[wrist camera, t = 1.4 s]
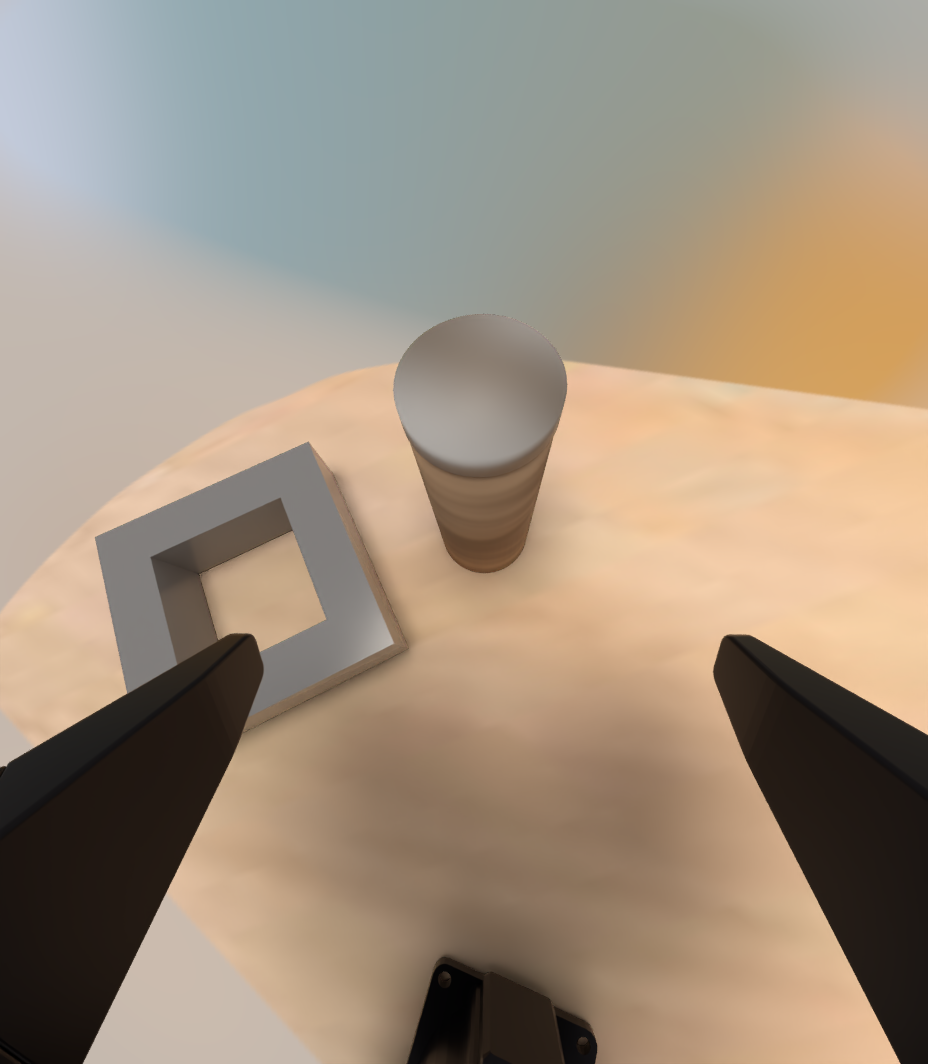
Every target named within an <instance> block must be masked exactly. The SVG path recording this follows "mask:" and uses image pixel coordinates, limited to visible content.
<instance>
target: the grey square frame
mask: <svg viewBox="0 0 928 1064" xmlns="http://www.w3.org/2000/svg"><path fill="white" fill-rule="evenodd" d="M291 530H293V532H294V535H295V537H296V540H297V543H298V545H299V548H300V550H301V553H302V556H303V558H304V561H305V564H306V566H307V569H308V572H309V574H310V577H311V579H312V582H313V585H314V587H315V590H316V593H317V595H318V598H319V601H320V603H321V606H322V609H323V611H324V614H325V616H326V619H327V620H325V621H323V622H321V623H319V624H317V625H315V626H313V627H311V628H309V629H307V630H304V631H302V632H300V633H298V634H296V635H294V636H292V637H290V638H288V639H286V640H284V641H282V642H280V643H278V644H276V645H274V646H272V647H270V648H268V649H266V650H264V651H262V652H260V655H261V658H262V661H263V665H264V674H263V678H262V681H261V684H260V686H259V689H258V692H257V694H256V697H255V700H254V702H253V705H252V708H251V710H250V713H249V716H248V719H247V721H246V724H245V727H244V729H243V732H242V733H244V732H246V731H248V730H250V729H251V728H253V727H255V726H257V725H259V724H261V723H263V722H265V721H267V720H269V719H271V718H273V717H275V716H277V715H279V714H281V713H283V712H285V711H287V710H289V709H291V708H293V707H295V706H297V705H299V704H301V703H303V702H305V701H307V700H309V699H311V698H312V697H314V696H316V695H318V694H320V693H322V692H324V691H326V690H328V689H330V688H332V687H334V686H336V685H338V684H340V683H342V682H344V681H346V680H348V679H350V678H352V677H354V676H356V675H358V674H360V673H362V672H364V671H366V670H368V669H370V668H372V667H373V666H375V665H377V664H379V663H381V662H383V661H385V660H387V659H389V658H391V657H393V656H395V655H397V654H399V653H401V652H403V651H405V650H407V649H409V648H408V646H407V643H406V641H405V639H404V636H403V634H402V632H401V629H400V627H399V625H398V623H397V620H396V618H395V616H394V613H393V611H392V609H391V606H390V604H389V602H388V599H387V597H386V595H385V593H384V590H383V588H382V586H381V583H380V581H379V579H378V576H377V574H376V572H375V570H374V567H373V565H372V563H371V560H370V558H369V556H368V553H367V551H366V549H365V547H364V544H363V542H362V540H361V537H360V535H359V533H358V530H357V528H356V526H355V523H354V521H353V519H352V517H351V514H350V512H349V510H348V507H347V505H346V503H345V500H344V498H343V496H342V494H341V491H340V489H339V487H338V484H337V482H336V480H335V477H334V475H333V473H332V472H331V470H330V469H329V468H328V466H327V465H326V464H325V463H324V461H323V460H322V459H321V457H320V456H319V455H318V453H317V452H316V451H315V450H314V448H313V447H312V446H311V444H310V443H309V442H307V443H304V444H302V445H300V446H298V447H295V448H293V449H291V450H289V451H286V452H284V453H282V454H280V455H278V456H275V457H273V458H271V459H269V460H266V461H264V462H262V463H260V464H257V465H255V466H253V467H251V468H249V469H246V470H244V471H242V472H240V473H237V474H235V475H233V476H231V477H228V478H226V479H224V480H222V481H219V482H217V483H215V484H213V485H211V486H208V487H206V488H204V489H202V490H199V491H197V492H195V493H193V494H190V495H188V496H186V497H184V498H181V499H179V500H177V501H175V502H173V503H170V504H168V505H166V506H164V507H161V508H159V509H157V510H155V511H152V512H150V513H148V514H146V515H144V516H141V517H139V518H137V519H135V520H132V521H130V522H128V523H126V524H123V525H121V526H119V527H117V528H114V529H112V530H110V531H108V532H106V533H103V534H101V535H99V536H97V537H95V540H96V545H97V550H98V555H99V559H100V564H101V569H102V574H103V579H104V583H105V588H106V593H107V598H108V603H109V608H110V612H111V617H112V622H113V627H114V632H115V636H116V641H117V646H118V651H119V656H120V661H121V665H122V670H123V675H124V680H125V685H126V690H127V694H128V693H129V692H131V691H133V690H134V689H136V688H138V687H140V686H141V685H143V684H145V683H146V682H148V681H150V680H152V679H153V678H155V677H157V676H158V675H160V674H162V673H164V672H165V671H167V670H169V669H171V668H172V667H174V666H176V665H177V664H179V663H181V662H183V661H184V660H186V659H188V658H189V657H191V656H193V655H195V654H196V653H198V652H200V651H201V650H203V649H205V648H207V647H208V646H210V645H212V644H213V643H215V642H217V641H218V640H217V637H216V633H215V630H214V626H213V623H212V619H211V616H210V612H209V609H208V605H207V602H206V598H205V595H204V591H203V588H202V584H201V581H200V577H199V573H201V572H204V571H206V570H208V569H210V568H212V567H214V566H216V565H219V564H221V563H223V562H225V561H227V560H229V559H231V558H234V557H236V556H238V555H240V554H242V553H244V552H246V551H249V550H251V549H253V548H255V547H257V546H259V545H261V544H264V543H266V542H268V541H270V540H272V539H274V538H276V537H279V536H281V535H283V534H285V533H287V532H289V531H291Z"/></svg>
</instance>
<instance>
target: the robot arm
mask: <svg viewBox="0 0 928 1064" xmlns="http://www.w3.org/2000/svg"><path fill="white" fill-rule="evenodd" d="M263 674H264V665H263V661H262V658H261V655H260V652H259V649H258V645H257V642H256V639H255V637H254V636H253V635H251V634H238V633H234V634H229V635H227V636H225V637H224V638H222V639H220V640H219V641H217V642H215V643H213V644H212V645H210V646H208V647H207V648H205V649H203V650H201V651H200V652H198V653H196V654H195V655H193V656H191V657H189V658H188V659H186V660H184V661H183V662H181V663H179V664H177V665H176V666H174V667H172V668H171V669H169V670H167V671H165V672H164V673H162V674H160V675H158V676H157V677H155V678H153V679H152V680H150V681H148V682H146V683H145V684H143V685H141V686H140V687H138V688H136V689H134V690H133V691H131V692H129V693H128V694H126V695H124V696H122V697H121V698H119V699H117V700H116V701H114V702H112V703H110V704H109V705H107V706H105V707H104V708H102V709H100V710H98V711H97V712H95V713H93V714H91V715H90V716H88V717H86V718H85V719H83V720H81V721H79V722H78V723H76V724H74V725H73V726H71V727H69V728H67V729H66V730H64V731H62V732H61V733H59V734H57V735H55V736H54V737H52V738H50V739H49V740H47V741H45V742H43V743H42V744H40V745H38V746H36V747H35V748H33V749H31V750H30V751H28V752H26V753H24V754H23V755H21V756H19V757H18V758H16V759H14V760H12V761H11V762H9V763H8V765H7V767H6V766H3V767H0V1064H83V1062H84V1060H85V1058H86V1056H87V1054H88V1052H89V1050H90V1048H91V1046H92V1044H93V1042H94V1040H95V1038H96V1035H97V1034H98V1031H99V1029H100V1027H101V1025H102V1023H103V1021H104V1019H105V1017H106V1015H107V1013H108V1011H109V1009H110V1007H111V1005H112V1003H113V1001H114V999H115V997H116V995H117V992H118V991H119V988H120V986H121V984H122V982H123V980H124V978H125V976H126V974H127V972H128V970H129V968H130V966H131V964H132V962H133V960H134V958H135V956H136V953H137V952H138V949H139V947H140V945H141V943H142V941H143V939H144V937H145V935H146V933H147V931H148V929H149V927H150V925H151V923H152V921H153V919H154V916H155V915H156V913H157V911H158V909H159V907H160V904H161V902H162V900H163V898H164V896H165V894H166V892H167V890H168V888H169V886H170V884H171V882H172V880H173V878H174V876H175V874H176V872H177V870H178V868H179V866H180V863H181V861H182V859H183V857H184V855H185V853H186V851H187V849H188V847H189V845H190V843H191V841H192V839H193V837H194V835H195V833H196V831H197V829H198V827H199V825H200V823H201V820H202V818H203V816H204V814H205V812H206V810H207V808H208V806H209V804H210V802H211V800H212V798H213V796H214V794H215V792H216V790H217V788H218V786H219V784H220V782H221V780H222V777H223V775H224V773H225V771H226V769H227V767H228V765H229V763H230V761H231V759H232V757H233V754H234V752H235V750H236V747H237V745H238V742H239V740H240V737H241V735H242V732H243V729H244V727H245V724H246V721H247V719H248V716H249V713H250V710H251V708H252V705H253V702H254V700H255V697H256V694H257V692H258V689H259V686H260V684H261V681H262V678H263ZM713 674H714V680H715V683H716V685H717V688H718V690H719V693H720V696H721V698H722V701H723V703H724V706H725V708H726V711H727V714H728V716H729V719H730V721H731V724H732V726H733V729H734V732H735V734H736V737H737V739H738V742H739V744H740V747H741V749H742V752H743V754H744V756H745V759H746V761H747V763H748V765H749V767H750V769H751V771H752V773H753V775H754V777H755V779H756V781H757V783H758V785H759V787H760V789H761V791H762V793H763V795H764V797H765V799H766V801H767V803H768V805H769V807H770V809H771V811H772V813H773V815H774V817H775V819H776V821H777V823H778V824H779V826H780V828H781V830H782V832H783V834H784V836H785V838H786V840H787V842H788V844H789V846H790V848H791V850H792V852H793V854H794V856H795V858H796V860H797V862H798V864H799V866H800V868H801V870H802V871H803V873H804V875H805V877H806V879H807V881H808V883H809V885H810V887H811V889H812V891H813V893H814V895H815V897H816V899H817V901H818V903H819V905H820V907H821V909H822V911H823V913H824V915H825V917H826V919H827V920H828V922H829V924H830V926H831V928H832V930H833V932H834V934H835V936H836V938H837V940H838V942H839V944H840V946H841V948H842V950H843V952H844V954H845V956H846V958H847V960H848V962H849V964H850V966H851V967H852V969H853V971H854V973H855V975H856V977H857V979H858V981H859V983H860V985H861V987H862V989H863V991H864V993H865V995H866V997H867V999H868V1001H869V1003H870V1005H871V1007H872V1009H873V1011H874V1013H875V1015H876V1016H877V1018H878V1020H879V1022H880V1024H881V1026H882V1028H883V1030H884V1032H885V1034H886V1036H887V1038H888V1040H889V1042H890V1044H891V1046H892V1048H893V1050H894V1052H895V1054H896V1056H897V1058H898V1060H899V1062H900V1063H901V1064H928V735H927V734H925V733H923V732H922V731H920V730H918V729H916V728H914V727H913V726H911V725H909V724H907V723H906V722H904V721H902V720H900V719H898V718H897V717H895V716H893V715H891V714H890V713H888V712H886V711H884V710H882V709H881V708H879V707H877V706H875V705H874V704H872V703H870V702H868V701H866V700H865V699H863V698H861V697H859V696H858V695H856V694H854V693H852V692H850V691H849V690H847V689H845V688H843V687H842V686H840V685H838V684H836V683H834V682H833V681H831V680H829V679H827V678H826V677H824V676H822V675H820V674H818V673H817V672H815V671H813V670H811V669H810V668H808V667H806V666H804V665H802V664H801V663H799V662H797V661H795V660H794V659H792V658H790V657H788V656H786V655H785V654H783V653H781V652H779V651H778V650H776V649H774V648H772V647H770V646H769V645H767V644H765V643H763V642H762V641H760V640H758V639H756V638H754V637H753V636H750V635H733V634H729V635H726V636H724V638H723V639H722V641H721V644H720V647H719V651H718V654H717V658H716V661H715V664H714V669H713ZM442 972H448V973H449V974H450V976H451V978H450V980H448V981H443V980H442V979H441V978H440V973H442ZM581 1037H586V1038H587V1039H588V1042H587V1044H586V1045H585V1046H579V1045H578V1044H577V1041H578V1039H579V1038H581ZM596 1055H597V1043H596V1039H595V1036H594V1033H593V1030H592V1028H591V1027H590V1025H589V1024H588V1023H586V1022H585V1021H583V1020H581V1019H579V1018H577V1017H574V1016H572V1015H570V1014H568V1013H566V1012H564V1011H562V1010H559V1009H557V1008H555V1007H553V1005H552V1003H551V1000H550V999H549V998H547V997H545V996H543V995H541V994H538V993H536V992H534V991H532V990H530V989H528V988H525V987H523V986H521V985H519V984H517V983H515V982H513V981H510V980H508V979H506V978H504V977H502V976H500V975H497V974H495V973H493V972H489V973H487V974H482V973H480V972H478V971H476V970H474V969H472V968H470V967H467V966H465V965H463V964H461V963H459V962H457V961H455V960H452V959H450V958H446V957H445V958H441V959H440V960H439V961H437V962H436V964H435V967H434V969H433V973H432V976H431V980H430V983H429V987H428V990H427V994H426V997H425V1001H424V1004H423V1008H422V1011H421V1015H420V1018H419V1022H418V1026H417V1029H416V1033H415V1036H414V1040H413V1043H412V1047H411V1050H410V1054H409V1057H408V1061H407V1064H595V1060H596Z"/></svg>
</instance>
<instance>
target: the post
mask: <svg viewBox="0 0 928 1064" xmlns="http://www.w3.org/2000/svg"><path fill="white" fill-rule="evenodd" d="M393 391H394V400H395V404H396V408H397V411H398V414H399V417H400V420H401V423H402V426H403V429H404V431H405V433H406V436H407V438H408V440H409V441H410V444H411V447H412V450H413V453H414V456H415V458H416V461H417V464H418V467H419V470H420V473H421V476H422V479H423V482H424V485H425V488H426V491H427V494H428V497H429V500H430V503H431V506H432V509H433V511H434V514H435V517H436V520H437V523H438V526H439V529H440V532H441V535H442V538H443V541H444V544H445V547H446V549H447V551H448V553H449V554H450V556H451V557H452V558H453V560H454V561H456V562H457V563H458V564H459V565H460V566H462V567H464V568H466V569H468V570H471V571H474V572H480V573H490V572H495V571H499V570H501V569H504V568H505V567H507V566H509V565H510V564H511V563H513V562H514V561H515V560H516V559H517V558H518V556H519V555H520V553H521V552H522V550H523V547H524V545H525V541H526V537H527V534H528V530H529V526H530V522H531V519H532V515H533V511H534V507H535V504H536V500H537V496H538V492H539V489H540V485H541V481H542V477H543V474H544V470H545V466H546V462H547V459H548V455H549V451H550V447H551V444H552V440H553V436H554V434H555V432H556V430H557V427H558V424H559V421H560V417H561V413H562V410H563V406H564V402H565V398H566V394H567V377H566V371H565V367H564V364H563V362H562V359H561V357H560V355H559V353H558V352H557V350H556V349H555V347H554V346H553V345H552V344H551V342H550V341H549V340H548V339H547V338H546V337H545V336H544V335H542V334H541V333H540V332H539V331H537V330H536V329H534V328H532V327H531V326H529V325H527V324H525V323H523V322H521V321H518V320H516V319H512V318H508V317H505V316H499V315H491V314H475V315H467V316H461V317H457V318H453V319H450V320H448V321H445V322H442V323H440V324H438V325H436V326H434V327H432V328H431V329H429V330H428V331H426V332H425V333H423V334H422V335H421V336H420V337H418V338H417V339H416V340H415V341H414V342H413V343H412V344H411V345H410V347H409V348H408V349H407V351H406V352H405V353H404V355H403V357H402V359H401V360H400V362H399V365H398V367H397V370H396V374H395V378H394V388H393Z"/></svg>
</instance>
